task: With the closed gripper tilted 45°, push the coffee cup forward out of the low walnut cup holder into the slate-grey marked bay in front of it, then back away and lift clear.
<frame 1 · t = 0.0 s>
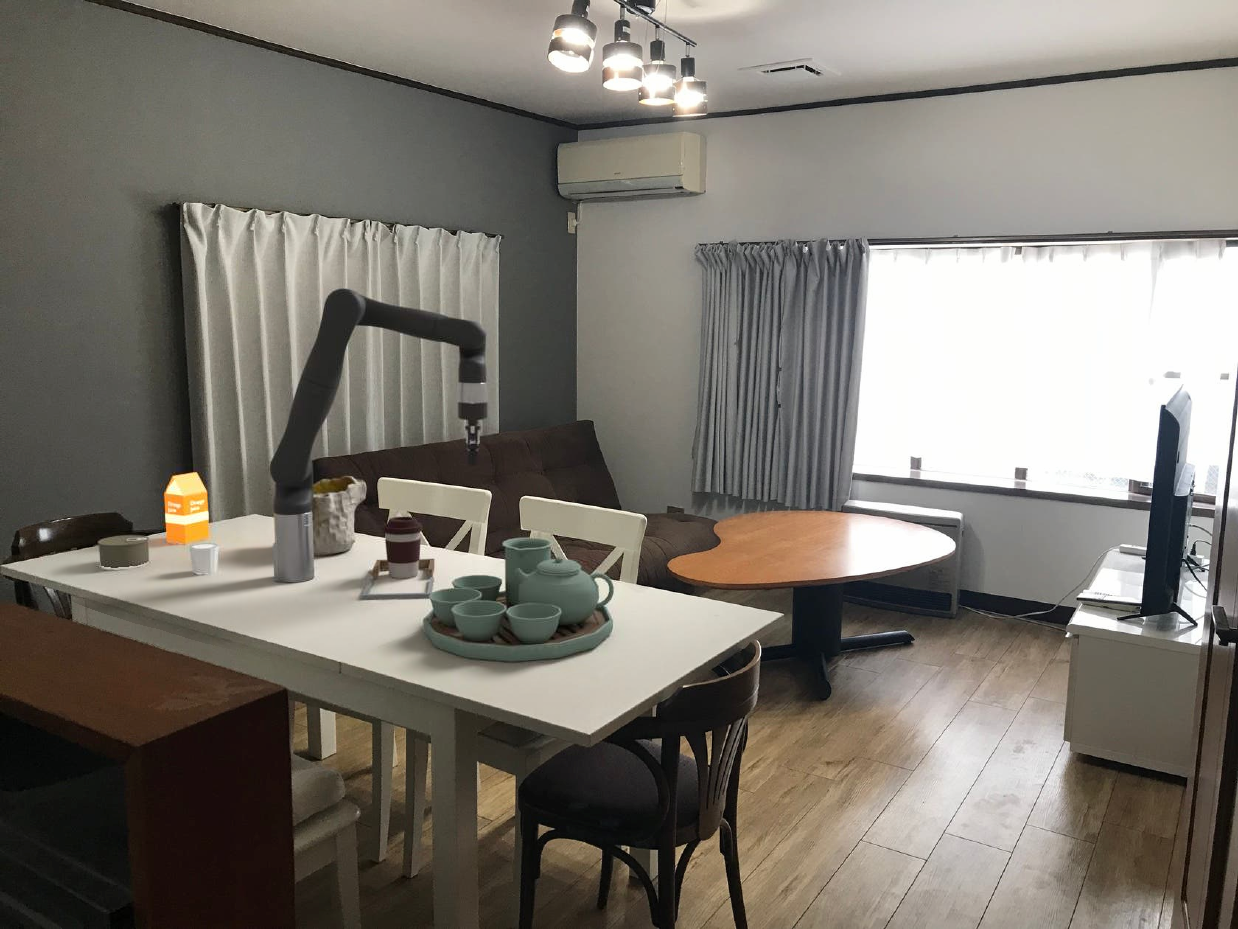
hand: (473, 463, 246), 29 cm above the table, tool pointing down, fingers open, 8 cm apart
grey bay: (399, 589, 235), on the table
can: (125, 565, 255), on the table
tea set: (519, 633, 205), on the table
ceramic vessel: (319, 550, 274), on the table
coffee cup: (403, 576, 248), on the table
shot glass: (205, 573, 248), on the table
orange juice: (188, 541, 283), on the table
cup holder: (403, 575, 248), on the table
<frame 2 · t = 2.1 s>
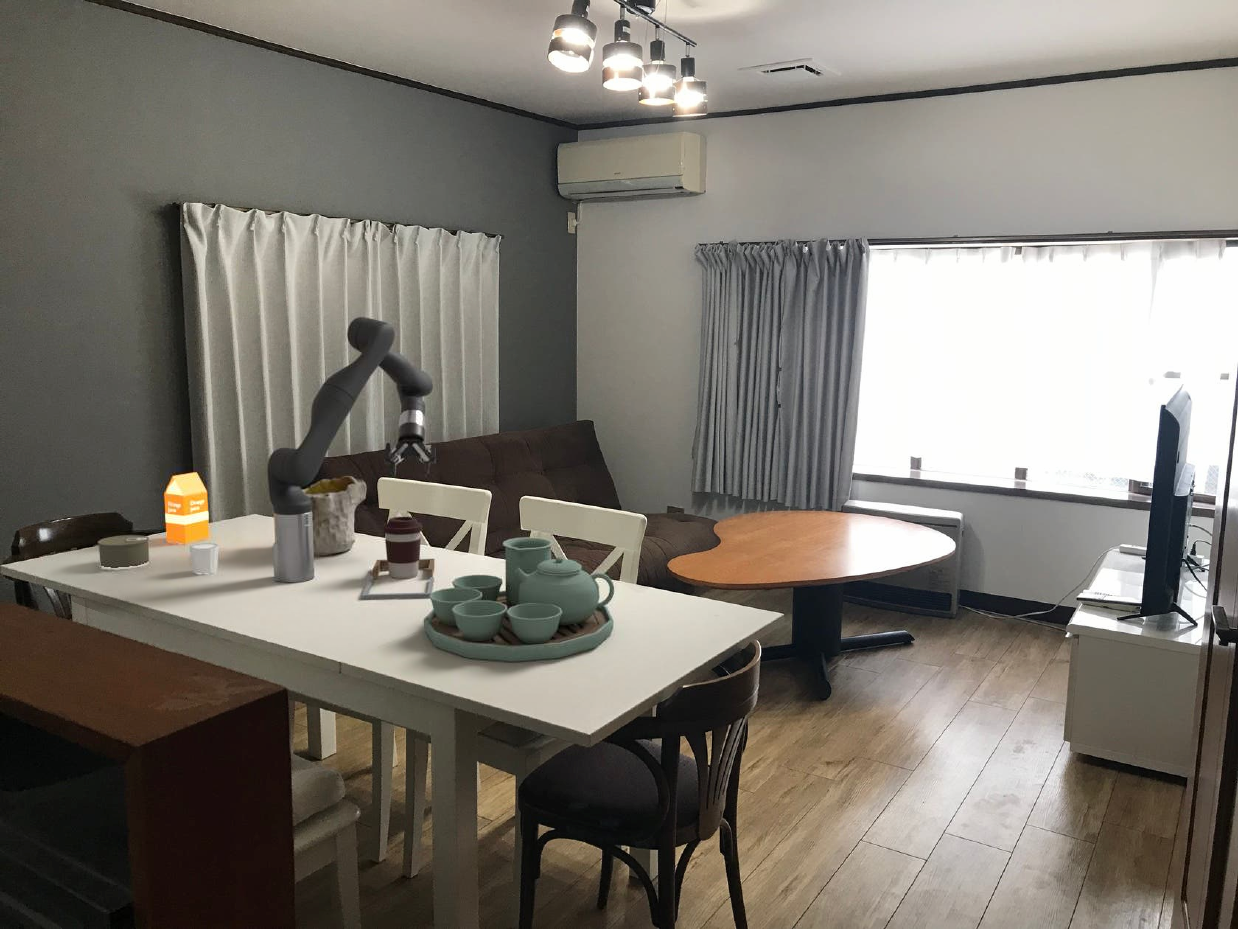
hand: (409, 475, 267), 23 cm above the table, tool tilted 45°, fingers open, 8 cm apart
nothing on the table moved.
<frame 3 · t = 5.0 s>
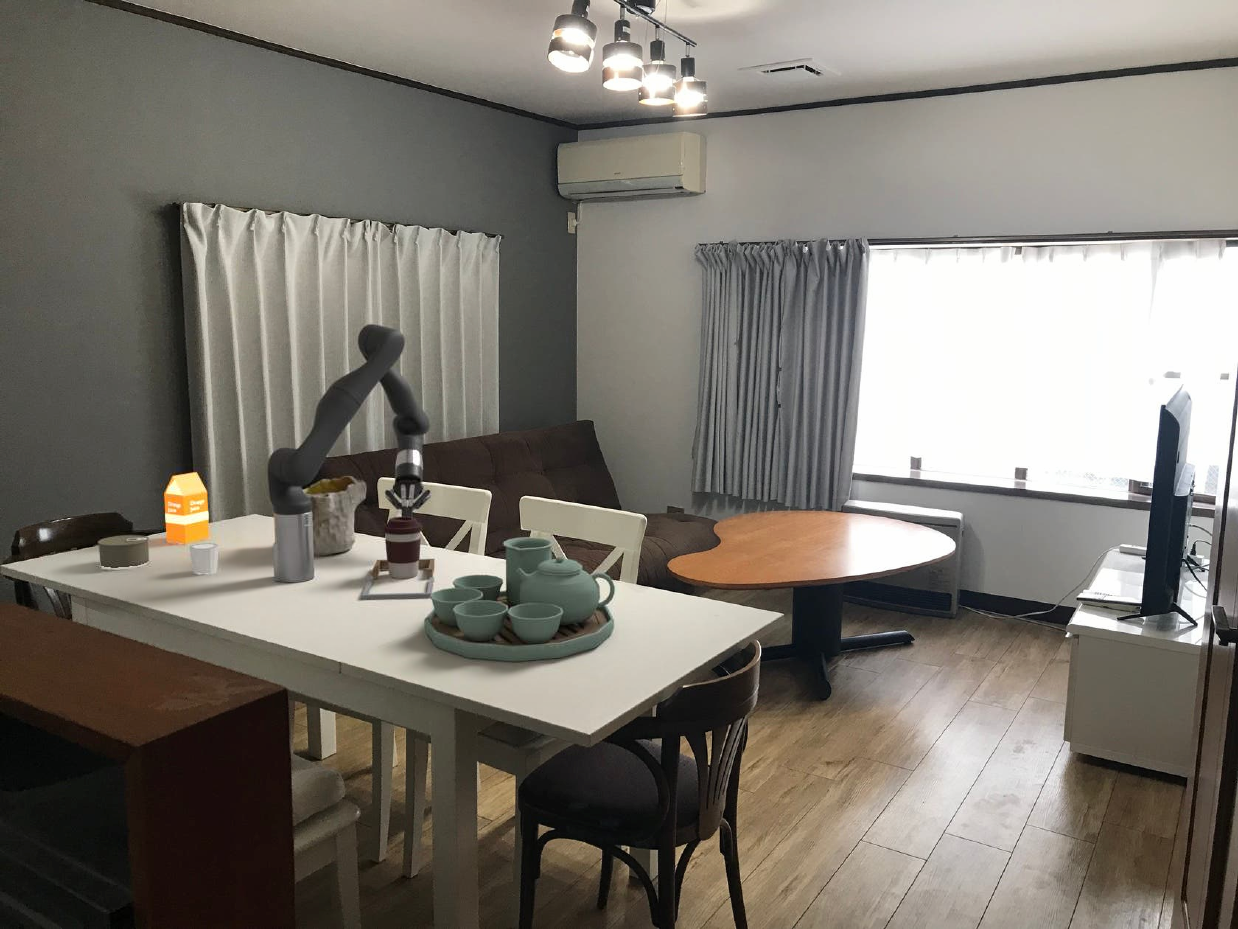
hand: (406, 520, 261), 11 cm above the table, tool tilted 45°, fingers closed
nothing on the table moved.
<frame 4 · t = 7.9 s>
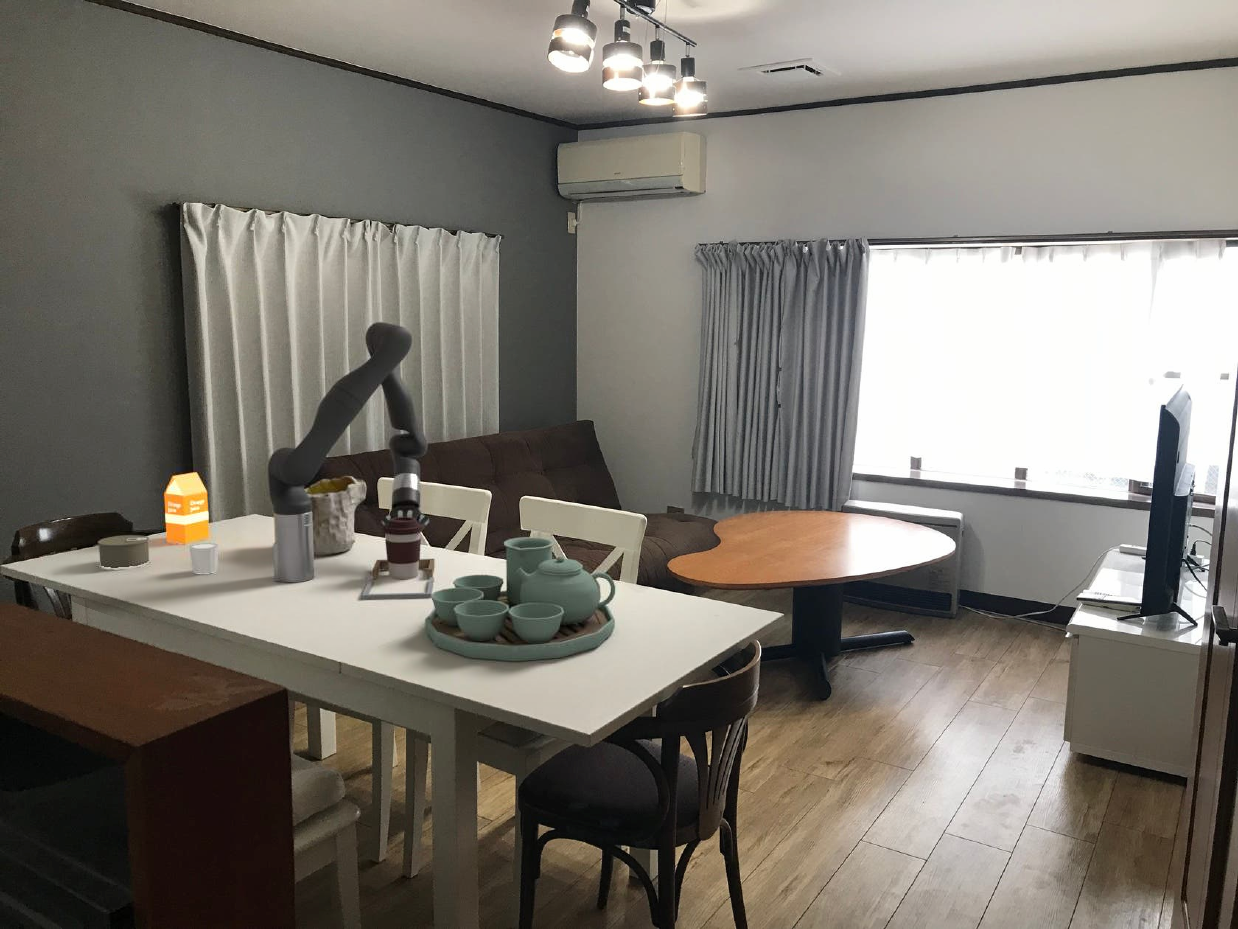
hand: (404, 548, 250), 6 cm above the table, tool tilted 45°, fingers closed
coffee cup: (403, 576, 247), on the table, touching gripper
everything else where it was.
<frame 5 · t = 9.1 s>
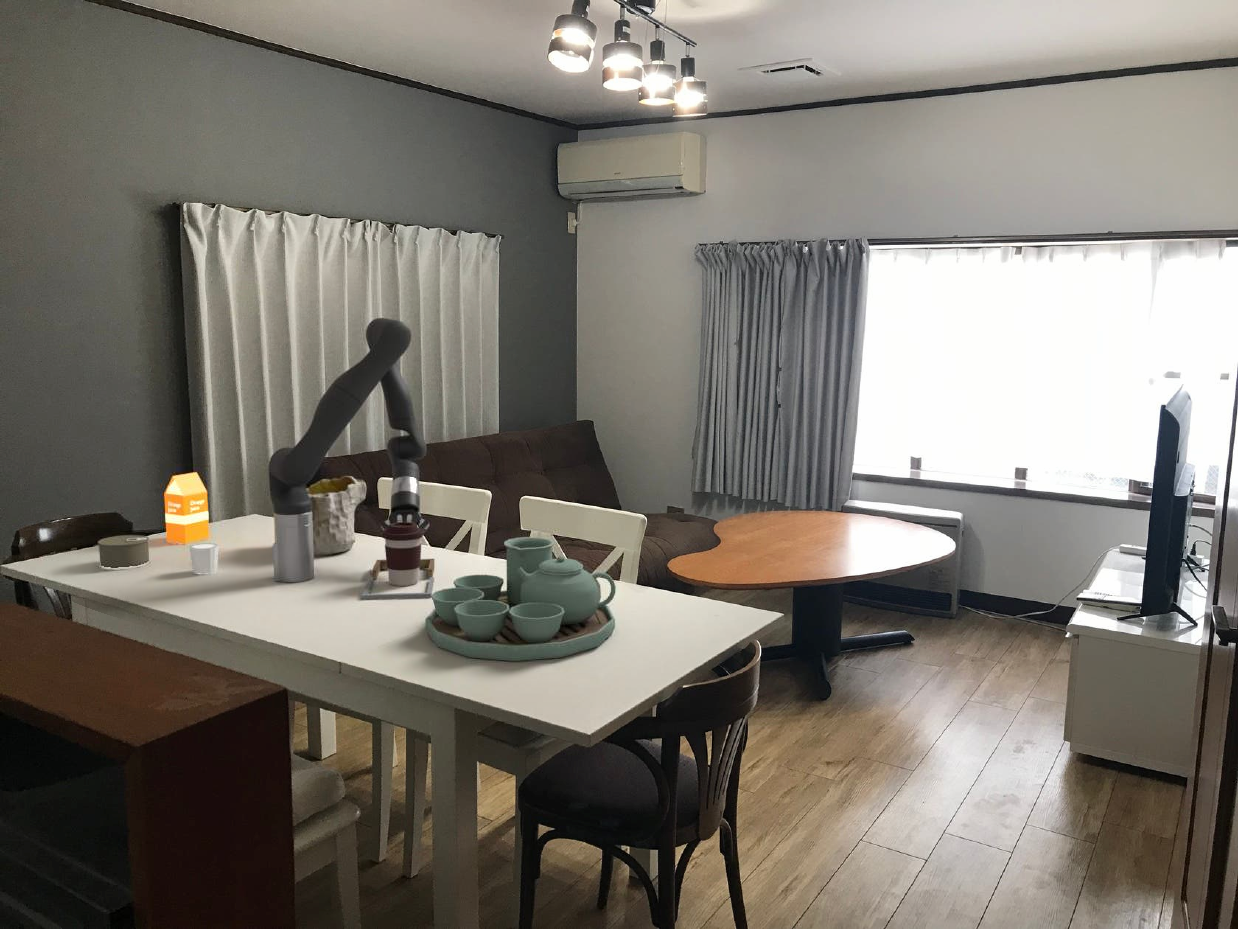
hand: (404, 554, 244), 6 cm above the table, tool tilted 45°, fingers closed
coffee cup: (403, 583, 241), on the table, touching gripper
everything else where it was.
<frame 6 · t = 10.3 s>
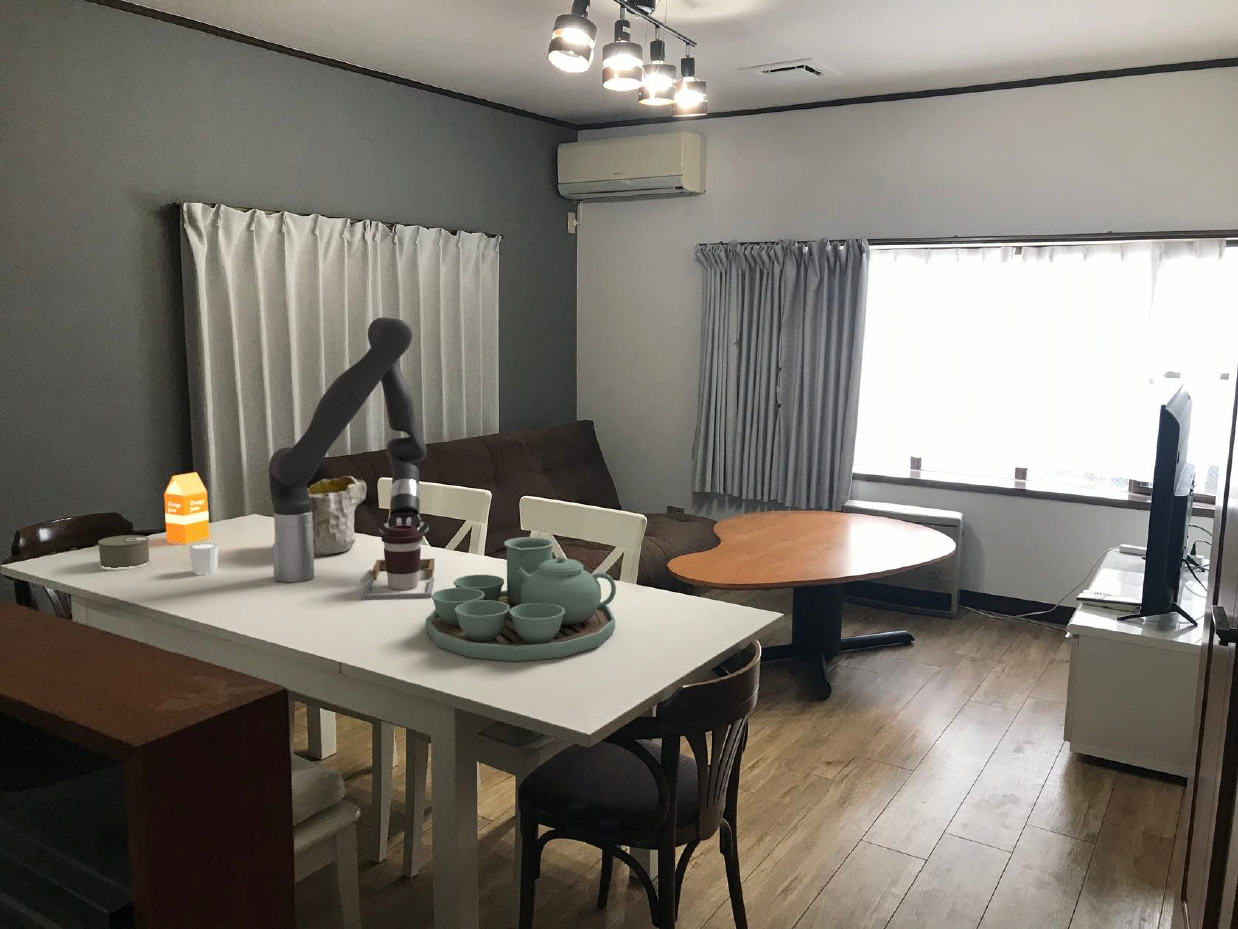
hand: (403, 557, 240), 6 cm above the table, tool tilted 45°, fingers closed
coffee cup: (403, 587, 237), on the table, touching gripper
everything else where it was.
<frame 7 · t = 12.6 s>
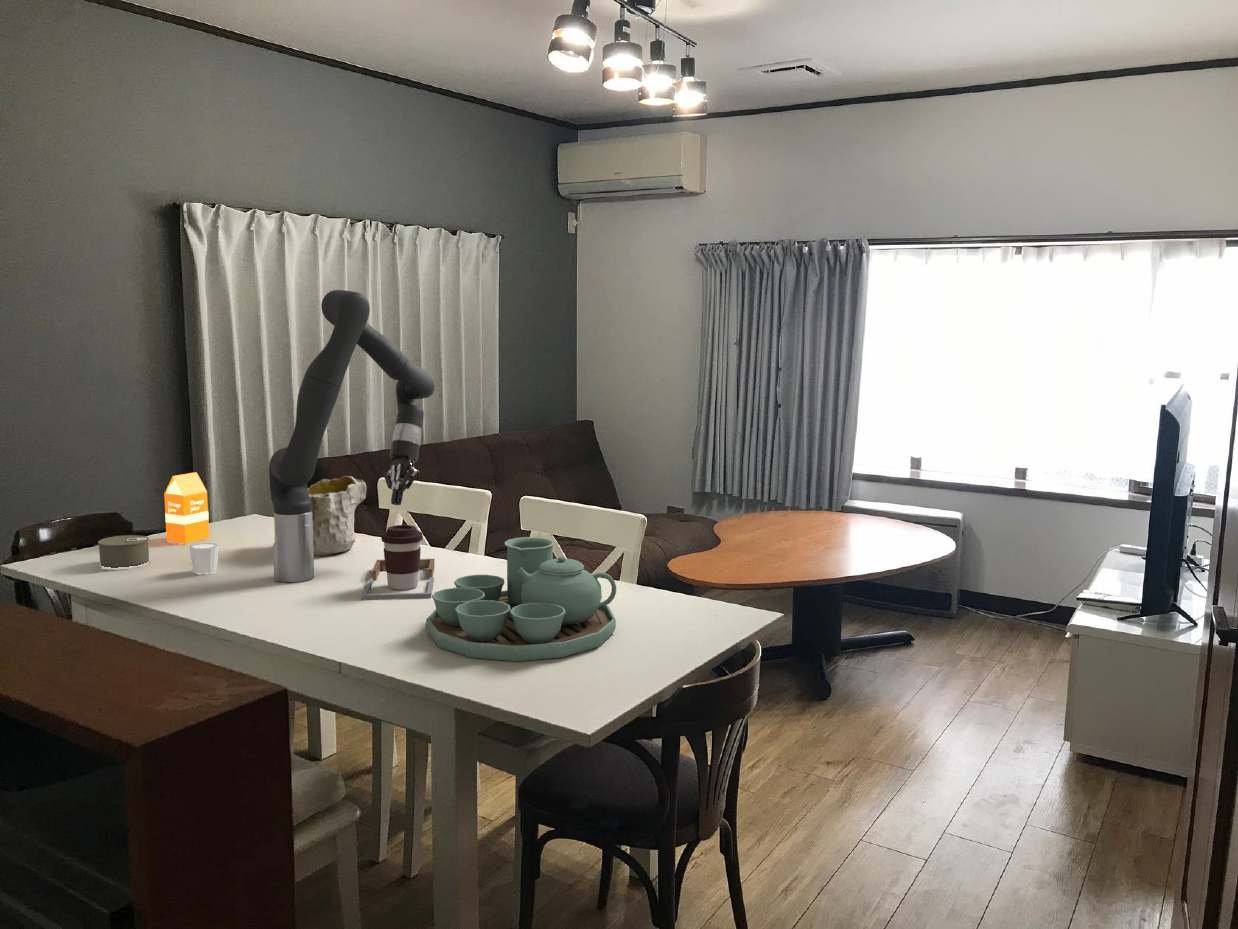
hand: (395, 504, 256), 17 cm above the table, tool tilted 25°, fingers closed
coffee cup: (403, 587, 237), on the table
everything else where it was.
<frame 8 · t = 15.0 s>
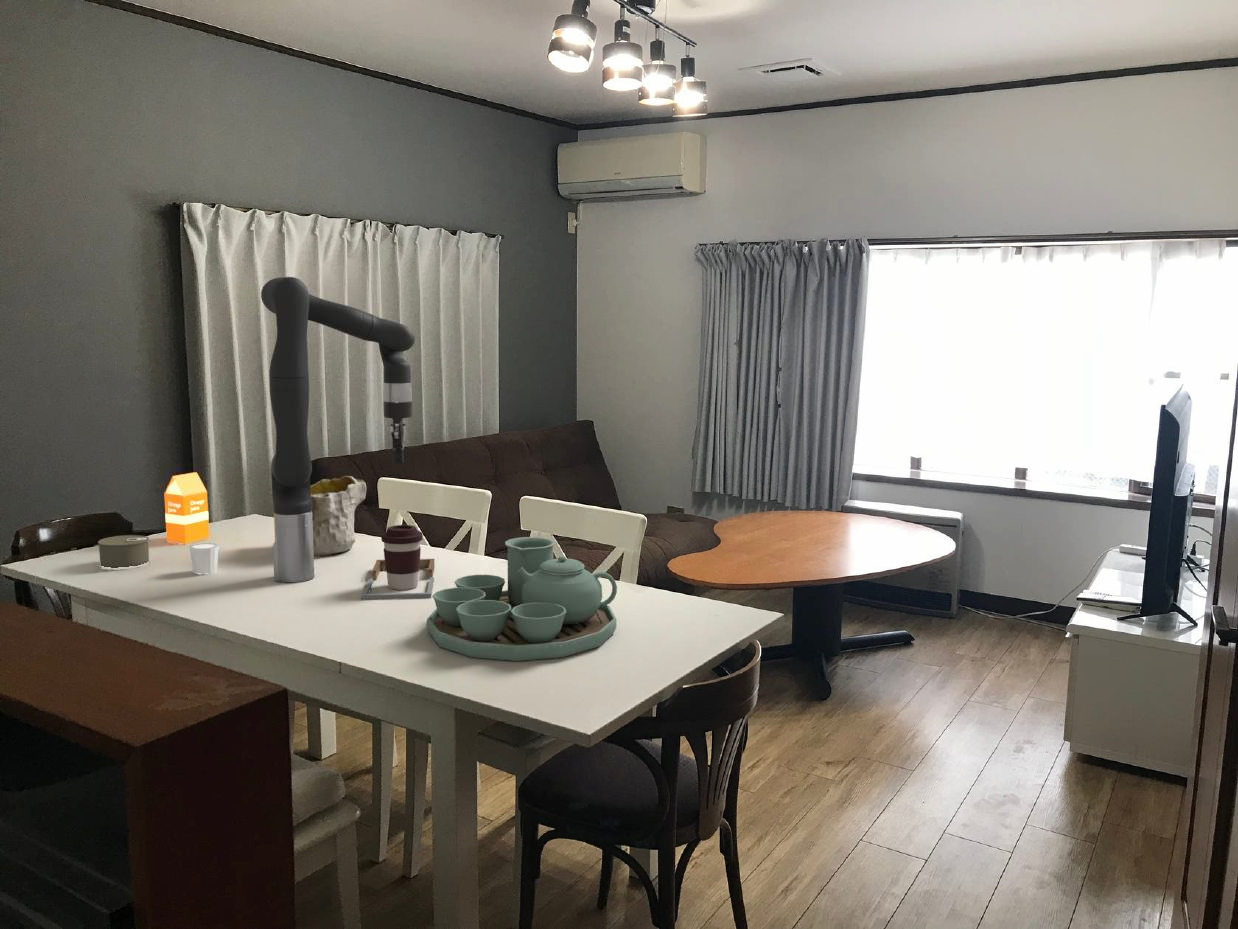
hand: (398, 463, 259), 27 cm above the table, tool pointing down, fingers closed
nothing on the table moved.
at the end: coffee cup inside the target area (3.3 cm from its centre), on the table; coffee cup tilted 0°; coffee cup moved 10.6 cm from its start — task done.
